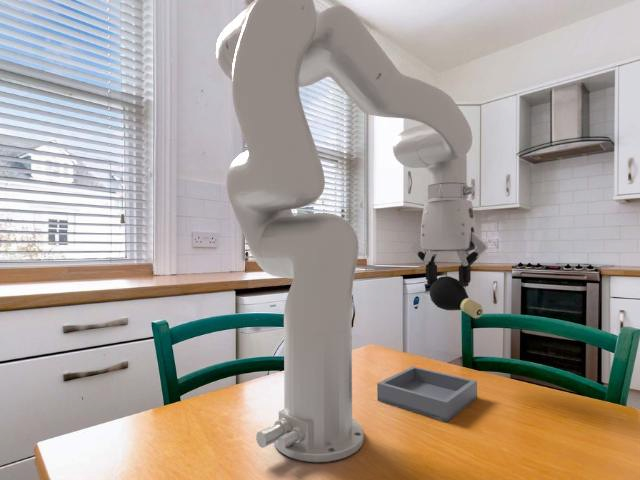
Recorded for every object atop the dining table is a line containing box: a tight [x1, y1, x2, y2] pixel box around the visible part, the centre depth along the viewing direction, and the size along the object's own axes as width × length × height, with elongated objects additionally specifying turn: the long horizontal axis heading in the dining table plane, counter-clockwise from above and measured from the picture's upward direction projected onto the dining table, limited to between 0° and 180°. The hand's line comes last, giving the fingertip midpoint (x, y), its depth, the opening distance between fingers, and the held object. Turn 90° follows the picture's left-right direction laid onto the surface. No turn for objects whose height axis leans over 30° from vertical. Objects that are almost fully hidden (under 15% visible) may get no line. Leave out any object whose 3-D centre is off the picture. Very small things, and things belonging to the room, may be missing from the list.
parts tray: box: [376, 365, 478, 423], centre depth 67 cm, size 13×13×3 cm
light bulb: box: [429, 275, 484, 319], centre depth 74 cm, size 7×7×12 cm
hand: (447, 284), depth 76 cm, fingers closed on light bulb, 5 cm apart
